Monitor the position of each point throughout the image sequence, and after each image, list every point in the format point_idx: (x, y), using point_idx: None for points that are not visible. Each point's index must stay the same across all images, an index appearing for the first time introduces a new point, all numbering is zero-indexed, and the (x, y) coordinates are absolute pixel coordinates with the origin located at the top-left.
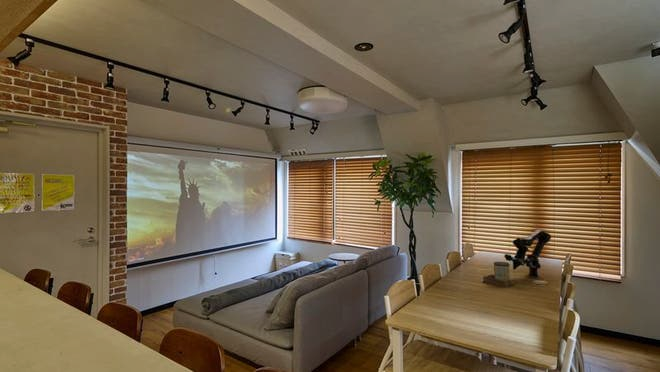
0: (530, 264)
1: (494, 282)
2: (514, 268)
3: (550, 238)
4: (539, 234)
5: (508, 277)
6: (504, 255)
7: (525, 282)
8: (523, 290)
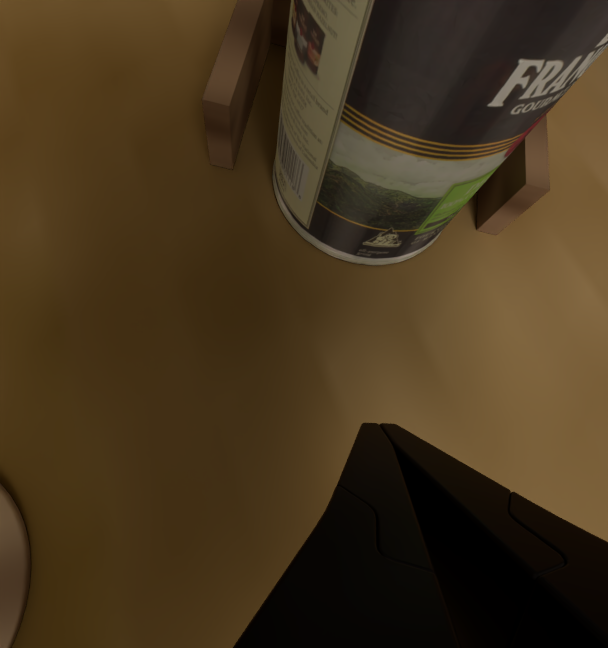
0: None
1: None
2: (362, 428)
3: None
4: None
5: (282, 88)
6: None
7: (119, 403)
8: (50, 27)
